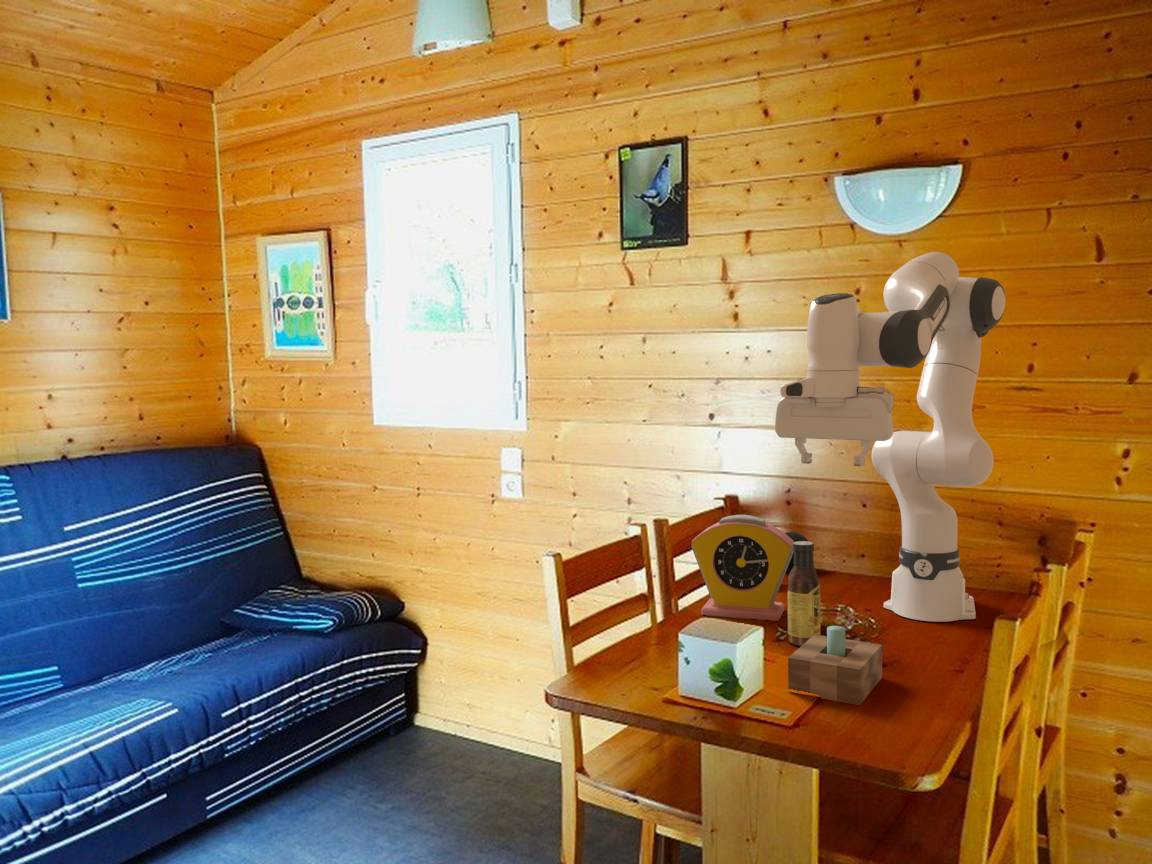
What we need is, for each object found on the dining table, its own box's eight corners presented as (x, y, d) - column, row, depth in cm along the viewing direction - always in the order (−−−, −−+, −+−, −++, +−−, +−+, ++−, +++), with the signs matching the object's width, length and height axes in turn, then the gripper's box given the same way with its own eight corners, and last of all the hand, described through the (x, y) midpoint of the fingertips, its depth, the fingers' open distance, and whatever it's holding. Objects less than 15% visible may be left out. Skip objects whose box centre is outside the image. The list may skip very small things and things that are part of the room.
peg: (830, 680, 161) (830, 624, 160) (847, 683, 159) (847, 627, 158) (824, 686, 158) (824, 629, 158) (842, 689, 157) (842, 632, 156)
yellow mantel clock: (688, 615, 202) (687, 517, 199) (698, 603, 210) (697, 510, 208) (791, 623, 194) (791, 522, 192) (797, 611, 202) (796, 514, 200)
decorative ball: (820, 572, 235) (820, 533, 234) (789, 577, 230) (789, 538, 229) (793, 564, 244) (793, 526, 243) (763, 569, 239) (763, 531, 238)
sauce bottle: (821, 648, 178) (821, 547, 176) (788, 647, 179) (787, 546, 177) (819, 637, 184) (819, 539, 182) (787, 636, 185) (787, 539, 183)
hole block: (814, 666, 168) (814, 634, 167) (881, 677, 162) (882, 644, 161) (788, 692, 156) (788, 657, 156) (859, 705, 150) (859, 669, 149)
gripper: (898, 385, 159) (897, 465, 161) (783, 385, 170) (784, 459, 172) (889, 387, 154) (888, 470, 155) (771, 387, 165) (772, 464, 166)
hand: (832, 464), depth 164 cm, fingers open, 8 cm apart
